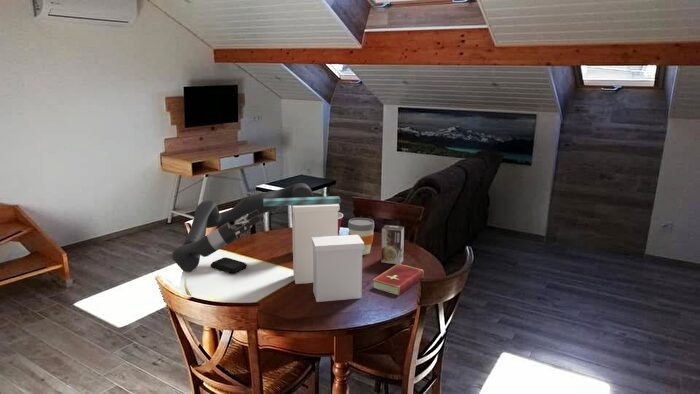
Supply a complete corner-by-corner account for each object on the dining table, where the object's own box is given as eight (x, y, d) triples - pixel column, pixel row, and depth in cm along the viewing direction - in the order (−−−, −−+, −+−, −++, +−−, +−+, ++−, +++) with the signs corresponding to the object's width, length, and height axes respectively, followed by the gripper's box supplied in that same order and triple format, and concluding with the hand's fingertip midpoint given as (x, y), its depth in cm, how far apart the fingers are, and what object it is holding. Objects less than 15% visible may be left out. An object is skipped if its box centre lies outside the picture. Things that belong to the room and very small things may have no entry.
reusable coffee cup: (360, 245, 233) (361, 216, 230) (379, 251, 225) (380, 221, 221) (342, 251, 225) (342, 221, 221) (360, 258, 216) (361, 227, 213)
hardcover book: (423, 278, 196) (423, 269, 195) (398, 297, 179) (399, 286, 178) (397, 272, 203) (398, 262, 202) (372, 288, 186) (372, 279, 185)
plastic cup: (320, 239, 241) (320, 216, 238) (324, 232, 252) (324, 211, 249) (341, 240, 239) (341, 218, 237) (344, 234, 250) (345, 212, 247)
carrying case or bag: (206, 269, 202) (231, 277, 194) (206, 263, 201) (231, 270, 194) (225, 261, 211) (249, 269, 203) (224, 255, 210) (249, 262, 202)
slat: (263, 206, 180) (263, 201, 180) (263, 203, 184) (263, 198, 184) (340, 203, 187) (340, 198, 186) (338, 200, 190) (338, 196, 190)
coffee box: (403, 260, 215) (405, 226, 211) (400, 265, 209) (401, 230, 205) (384, 257, 218) (385, 224, 214) (380, 262, 212) (381, 228, 208)
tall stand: (294, 284, 188) (293, 207, 180) (292, 274, 197) (290, 200, 189) (338, 281, 191) (339, 205, 184) (334, 271, 201) (334, 199, 193)
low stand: (315, 302, 173) (315, 246, 167) (311, 291, 182) (311, 237, 177) (363, 298, 176) (364, 243, 171) (357, 287, 186) (358, 234, 181)
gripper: (215, 234, 174) (253, 211, 175) (218, 223, 187) (253, 202, 188) (227, 250, 176) (264, 227, 177) (228, 238, 190) (263, 217, 191)
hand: (258, 214), depth 183 cm, fingers open, 8 cm apart
